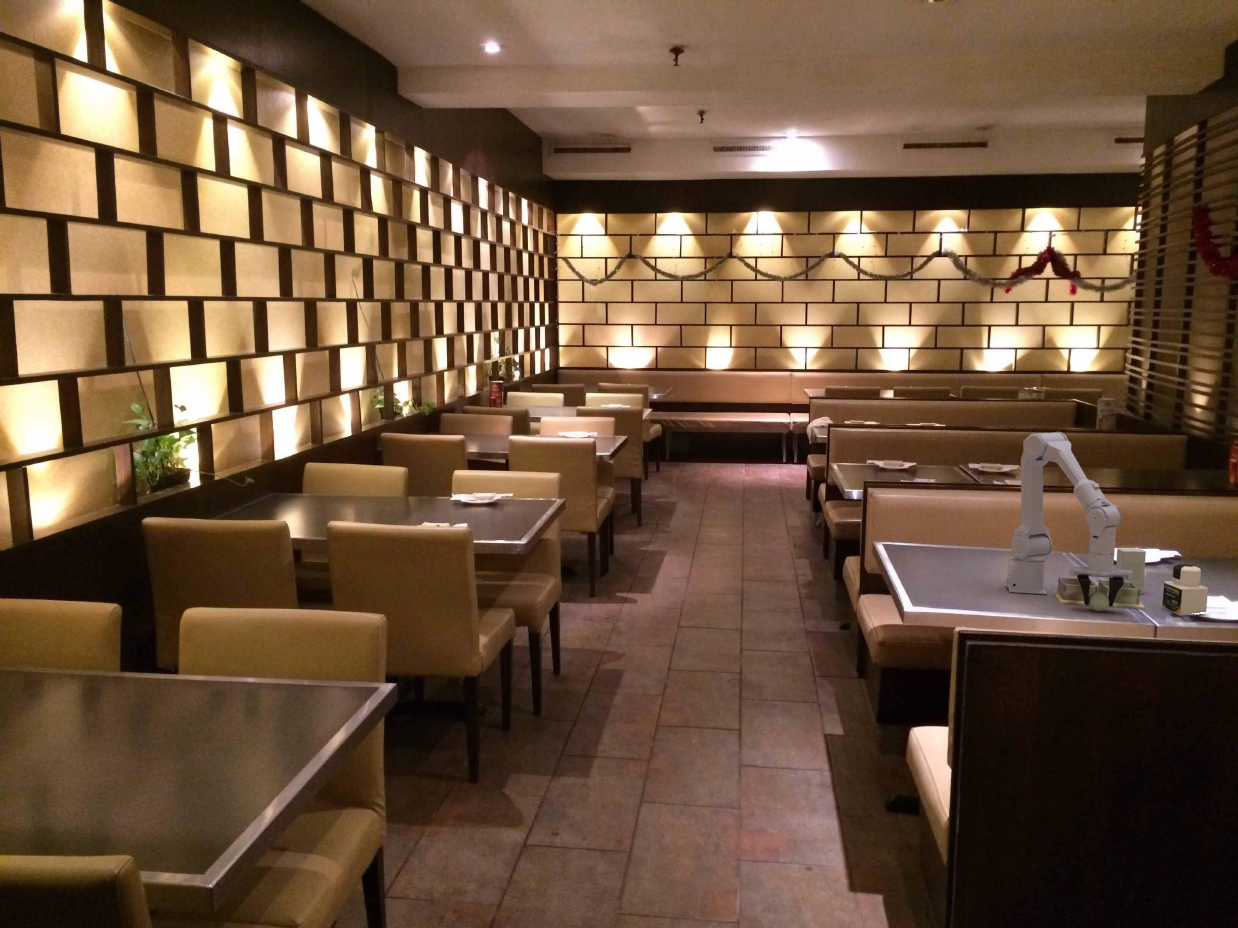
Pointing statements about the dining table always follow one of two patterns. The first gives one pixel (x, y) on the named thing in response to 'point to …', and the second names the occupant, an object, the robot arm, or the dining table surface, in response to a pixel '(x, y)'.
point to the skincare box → (1132, 564)
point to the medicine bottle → (1185, 591)
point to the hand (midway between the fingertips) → (1098, 604)
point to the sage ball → (1098, 601)
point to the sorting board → (1073, 593)
